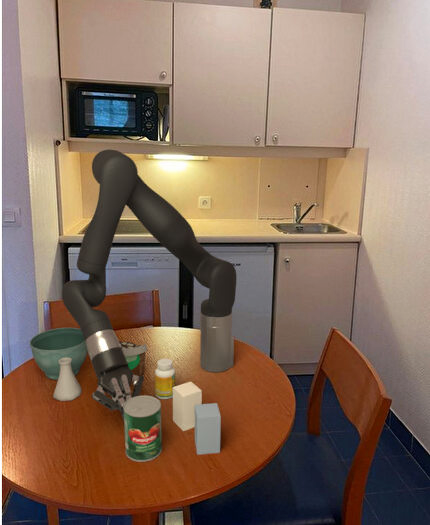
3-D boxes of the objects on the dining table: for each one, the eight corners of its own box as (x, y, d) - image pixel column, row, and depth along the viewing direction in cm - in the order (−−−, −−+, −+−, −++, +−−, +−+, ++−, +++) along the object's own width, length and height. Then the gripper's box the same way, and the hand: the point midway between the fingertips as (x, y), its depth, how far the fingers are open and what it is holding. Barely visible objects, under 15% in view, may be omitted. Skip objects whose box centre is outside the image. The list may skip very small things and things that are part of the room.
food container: (99, 376, 128) (98, 344, 126) (112, 367, 134) (110, 336, 131) (136, 385, 124) (135, 352, 121) (148, 375, 129) (147, 343, 127)
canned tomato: (148, 434, 103) (147, 391, 100) (169, 450, 97) (168, 405, 94) (118, 449, 98) (116, 404, 95) (138, 467, 92) (136, 420, 89)
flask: (73, 403, 115) (70, 368, 112) (47, 400, 116) (44, 365, 114) (86, 389, 122) (84, 355, 119) (62, 386, 123) (59, 352, 121)
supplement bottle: (156, 389, 122) (155, 357, 120) (176, 389, 122) (175, 357, 120) (154, 400, 117) (153, 366, 114) (175, 399, 117) (174, 366, 115)
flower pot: (26, 369, 132) (23, 335, 129) (80, 355, 141) (78, 323, 139) (42, 392, 119) (38, 355, 117) (99, 375, 129) (97, 341, 126)
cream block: (190, 414, 111) (190, 381, 109) (201, 424, 107) (201, 390, 105) (173, 420, 108) (172, 387, 106) (183, 431, 104) (183, 396, 102)
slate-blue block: (216, 438, 102) (216, 403, 99) (220, 452, 97) (220, 416, 95) (194, 440, 101) (194, 404, 99) (197, 454, 96) (197, 417, 94)
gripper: (126, 352, 112) (152, 418, 106) (75, 367, 104) (99, 439, 98) (136, 339, 107) (163, 408, 101) (83, 354, 99) (109, 430, 93)
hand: (132, 423), depth 100 cm, fingers closed
